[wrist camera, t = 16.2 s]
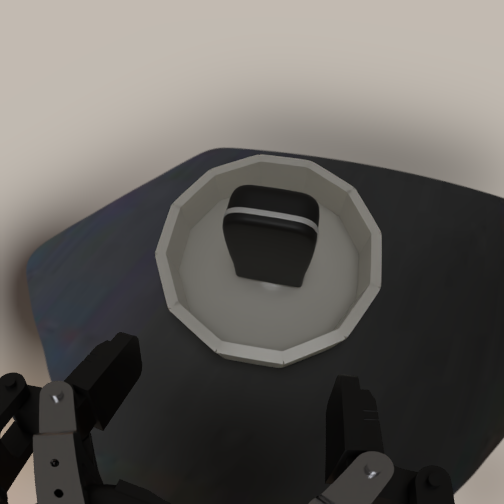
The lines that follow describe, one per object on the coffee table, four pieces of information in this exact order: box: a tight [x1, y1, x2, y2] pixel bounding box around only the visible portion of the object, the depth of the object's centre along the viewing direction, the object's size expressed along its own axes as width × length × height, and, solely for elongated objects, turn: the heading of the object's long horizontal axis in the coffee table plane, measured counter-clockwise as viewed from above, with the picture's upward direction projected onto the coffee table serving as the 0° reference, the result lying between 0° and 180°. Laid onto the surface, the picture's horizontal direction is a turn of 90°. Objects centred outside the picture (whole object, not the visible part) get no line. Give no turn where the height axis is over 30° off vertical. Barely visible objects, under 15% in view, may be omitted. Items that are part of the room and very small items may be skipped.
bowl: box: [155, 154, 382, 368], centre depth 30 cm, size 20×20×6 cm
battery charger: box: [222, 185, 320, 287], centre depth 26 cm, size 7×4×11 cm, turn 78°
